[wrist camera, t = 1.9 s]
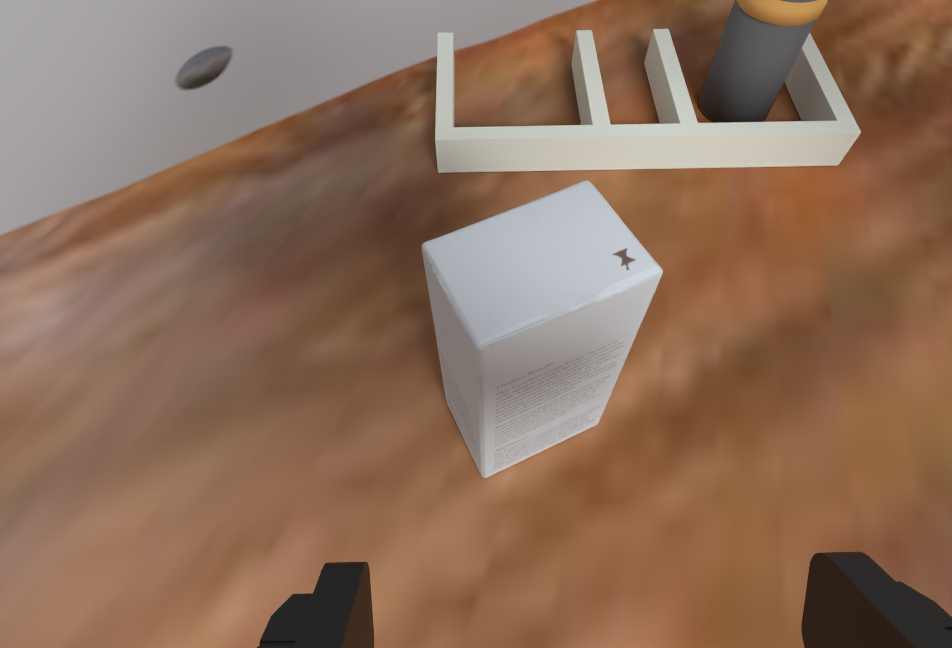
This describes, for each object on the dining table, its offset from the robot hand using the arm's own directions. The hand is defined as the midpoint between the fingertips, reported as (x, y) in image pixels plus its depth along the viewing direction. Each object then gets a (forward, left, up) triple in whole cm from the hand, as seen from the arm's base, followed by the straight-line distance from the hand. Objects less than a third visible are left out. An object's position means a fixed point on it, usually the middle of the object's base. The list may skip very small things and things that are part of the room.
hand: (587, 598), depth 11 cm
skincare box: (0, -9, -14) cm, 17 cm away
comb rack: (-8, -30, -14) cm, 34 cm away
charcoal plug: (-15, -30, -14) cm, 37 cm away
